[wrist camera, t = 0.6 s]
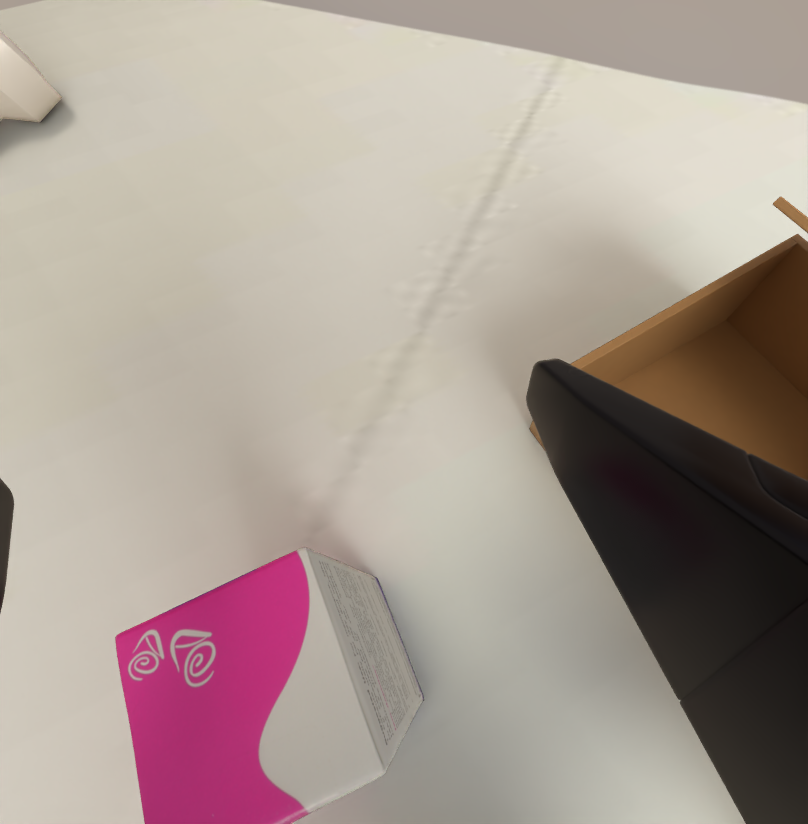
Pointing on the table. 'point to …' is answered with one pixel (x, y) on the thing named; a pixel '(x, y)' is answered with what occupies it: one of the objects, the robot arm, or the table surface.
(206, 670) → the supplement box
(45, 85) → the spotlight
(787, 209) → the flap
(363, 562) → the table surface
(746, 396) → the carton
